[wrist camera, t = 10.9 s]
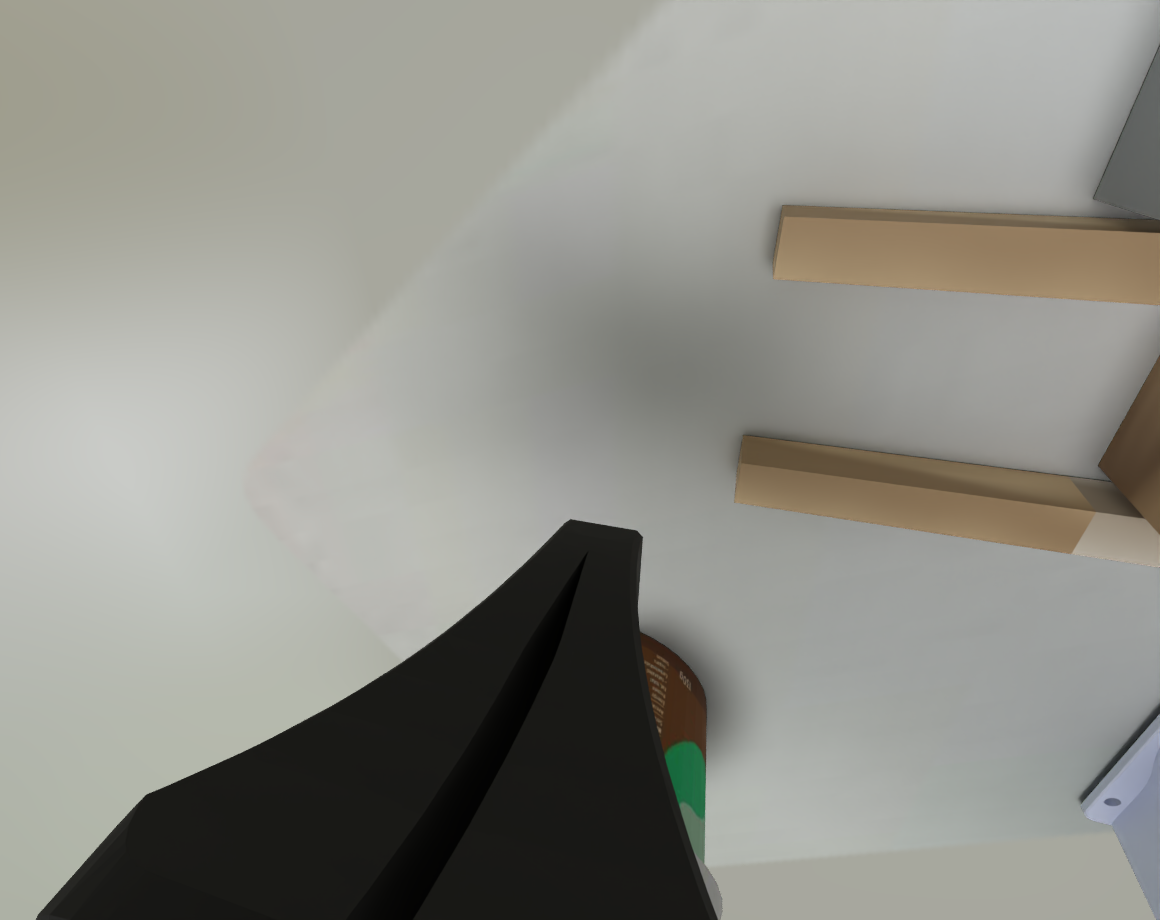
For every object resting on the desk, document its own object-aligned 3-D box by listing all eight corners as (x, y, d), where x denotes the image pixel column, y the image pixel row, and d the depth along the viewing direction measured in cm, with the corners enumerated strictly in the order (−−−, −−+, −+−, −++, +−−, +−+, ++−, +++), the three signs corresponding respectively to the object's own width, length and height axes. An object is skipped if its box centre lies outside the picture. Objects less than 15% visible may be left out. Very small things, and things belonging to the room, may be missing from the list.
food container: (678, 794, 31) (647, 1041, 23) (573, 749, 32) (505, 975, 24) (781, 662, 24) (788, 950, 16) (643, 607, 25) (582, 859, 17)
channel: (1401, 566, 16) (1489, 632, 14) (736, 472, 20) (733, 513, 18) (1729, 242, 11) (1927, 272, 10) (782, 205, 16) (784, 220, 14)
